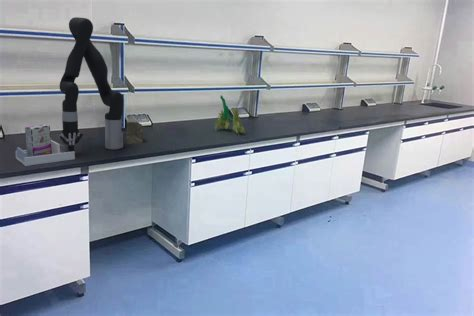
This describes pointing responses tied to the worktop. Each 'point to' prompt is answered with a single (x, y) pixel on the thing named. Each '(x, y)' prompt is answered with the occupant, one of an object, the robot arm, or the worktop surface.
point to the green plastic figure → (225, 113)
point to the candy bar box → (38, 140)
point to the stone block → (134, 132)
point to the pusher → (57, 147)
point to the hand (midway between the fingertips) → (71, 151)
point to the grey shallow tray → (42, 157)
